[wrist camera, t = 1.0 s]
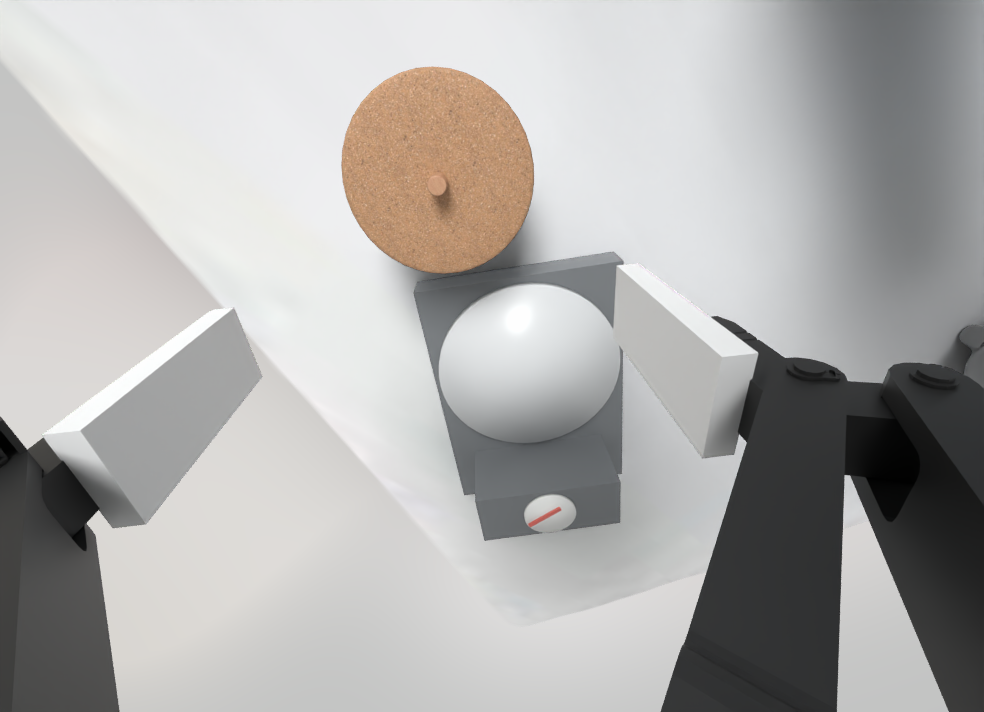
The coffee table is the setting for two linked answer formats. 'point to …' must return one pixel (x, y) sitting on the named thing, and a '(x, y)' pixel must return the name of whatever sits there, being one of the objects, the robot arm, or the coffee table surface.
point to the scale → (531, 391)
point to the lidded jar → (437, 170)
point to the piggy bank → (974, 352)
